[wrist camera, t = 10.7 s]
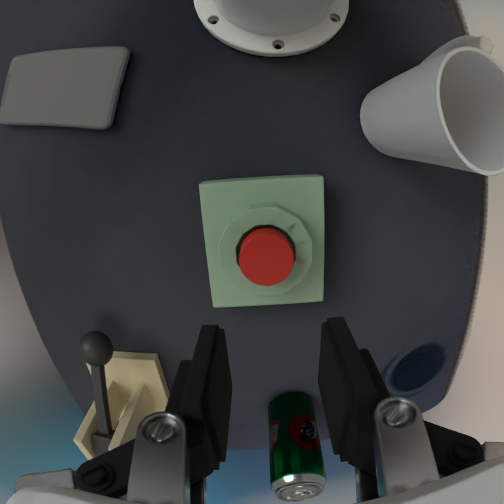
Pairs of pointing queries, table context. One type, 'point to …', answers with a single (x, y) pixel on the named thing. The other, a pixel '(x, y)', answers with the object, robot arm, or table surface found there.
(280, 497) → the soda can
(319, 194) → the control block
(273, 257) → the button
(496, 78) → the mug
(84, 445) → the lever bracket
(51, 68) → the smartphone
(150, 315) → the table surface
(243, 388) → the table surface
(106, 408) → the ball knob handle
